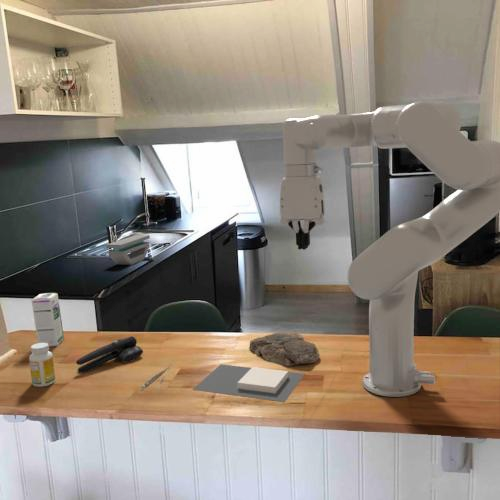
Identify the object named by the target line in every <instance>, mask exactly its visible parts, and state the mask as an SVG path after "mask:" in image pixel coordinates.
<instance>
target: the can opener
mask: <svg viewBox="0 0 500 500" xmlns="http://www.w3.org/2000/svg"><path fill="white" fill-rule="evenodd" d="M137 344H138V343H137V339H136V337H134V336H128V337H125V338H122V339H121V338H118V339H117V340H114V341H113V342H112V343H109V344H106V345H104V346H102V347H99V348H97V349H95V350H93V351H91V352H89V353H87V354H86V355H83V356H81V357H79V358H78V359H76V362H75V363H76V365H78V366H79V367H78V368H77V372H78V373H80V372H83V373H86V372H89V371H91V369H92V370H93V369H94V370H95V369H96V368H99V367H100V366H102V365H104V364H106V363H108V362H110V361H112V360H114V359H117V360H118V361H120V362H121V363H129V362H133V361H134V360H136V359H138V358H140V356H141V355H143V353H144V350H143V349H142V348H141V347H140V346H138V345H137ZM88 370H89V371H88ZM85 371H86V372H85Z"/></svg>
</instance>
